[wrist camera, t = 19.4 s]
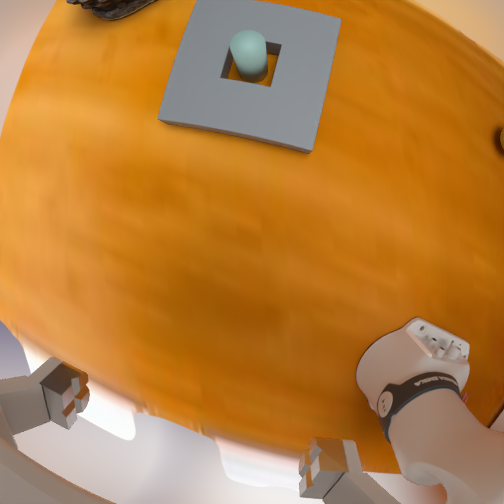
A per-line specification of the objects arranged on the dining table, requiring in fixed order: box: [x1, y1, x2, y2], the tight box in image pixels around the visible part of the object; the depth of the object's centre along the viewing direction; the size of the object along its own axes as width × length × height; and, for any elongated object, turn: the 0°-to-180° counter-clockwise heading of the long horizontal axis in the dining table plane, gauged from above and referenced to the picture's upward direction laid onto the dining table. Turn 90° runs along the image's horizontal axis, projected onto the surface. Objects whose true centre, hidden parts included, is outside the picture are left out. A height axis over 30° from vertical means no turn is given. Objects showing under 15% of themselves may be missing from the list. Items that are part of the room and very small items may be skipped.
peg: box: [230, 30, 268, 83], centre depth 33 cm, size 4×4×9 cm
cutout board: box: [158, 0, 341, 154], centre depth 35 cm, size 20×20×4 cm
